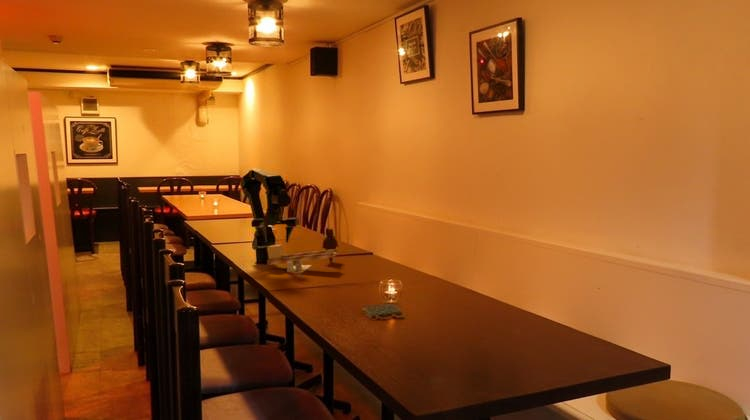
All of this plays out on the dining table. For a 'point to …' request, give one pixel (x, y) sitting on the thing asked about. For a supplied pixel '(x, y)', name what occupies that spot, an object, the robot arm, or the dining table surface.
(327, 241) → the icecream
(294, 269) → the stand
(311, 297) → the dining table surface
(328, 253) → the beam
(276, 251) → the tan block
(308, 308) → the dining table surface
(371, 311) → the woven mat
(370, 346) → the dining table surface
